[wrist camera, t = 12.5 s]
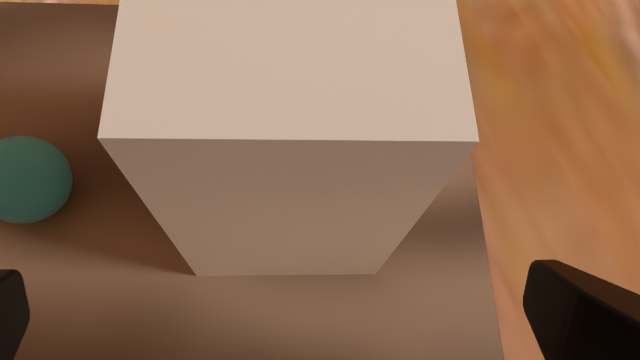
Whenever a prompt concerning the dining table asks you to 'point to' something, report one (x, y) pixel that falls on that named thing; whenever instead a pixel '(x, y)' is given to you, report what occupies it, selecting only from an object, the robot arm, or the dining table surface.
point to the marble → (32, 179)
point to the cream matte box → (287, 126)
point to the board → (172, 269)
